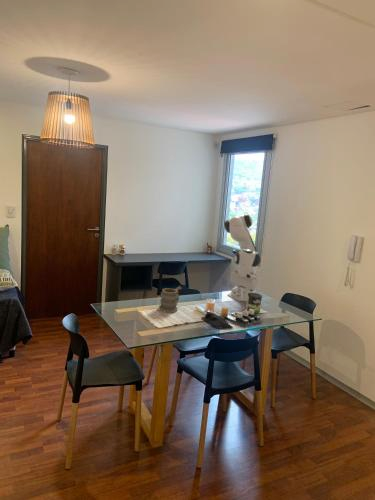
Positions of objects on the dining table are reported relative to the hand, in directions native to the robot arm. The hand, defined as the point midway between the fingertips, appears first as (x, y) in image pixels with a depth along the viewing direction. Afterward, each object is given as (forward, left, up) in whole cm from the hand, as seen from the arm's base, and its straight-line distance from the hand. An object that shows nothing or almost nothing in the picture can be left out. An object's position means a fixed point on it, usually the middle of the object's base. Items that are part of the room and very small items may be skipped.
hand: (241, 292), depth 251 cm
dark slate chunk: (-2, -20, -20) cm, 28 cm away
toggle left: (+6, -7, -15) cm, 17 cm away
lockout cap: (-8, -6, -19) cm, 22 cm away
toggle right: (+6, +7, -15) cm, 17 cm away
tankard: (-38, -29, -19) cm, 52 cm away
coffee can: (-2, +19, -19) cm, 27 cm away
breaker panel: (+4, 0, -19) cm, 20 cm away
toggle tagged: (+6, 0, -15) cm, 16 cm away
